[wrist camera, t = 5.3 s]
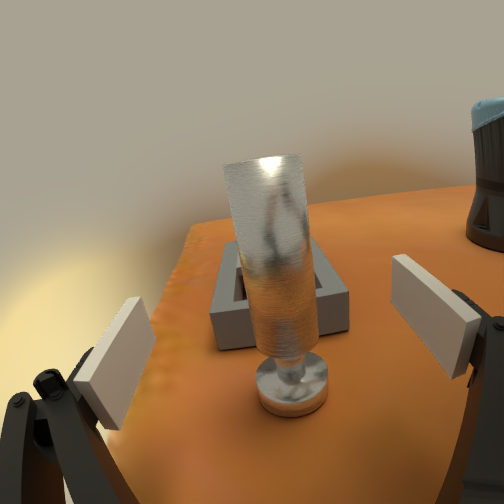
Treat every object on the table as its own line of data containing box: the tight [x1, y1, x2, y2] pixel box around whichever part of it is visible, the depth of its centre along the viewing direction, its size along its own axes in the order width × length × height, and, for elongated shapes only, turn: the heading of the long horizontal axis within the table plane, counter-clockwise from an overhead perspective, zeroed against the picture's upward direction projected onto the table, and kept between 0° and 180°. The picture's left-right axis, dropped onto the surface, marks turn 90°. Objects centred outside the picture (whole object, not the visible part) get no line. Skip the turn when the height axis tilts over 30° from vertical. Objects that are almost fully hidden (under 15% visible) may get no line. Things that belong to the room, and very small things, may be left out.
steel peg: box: [223, 153, 328, 417], centre depth 18 cm, size 5×5×16 cm
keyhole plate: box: [210, 236, 349, 350], centre depth 35 cm, size 20×12×4 cm, turn 1°
